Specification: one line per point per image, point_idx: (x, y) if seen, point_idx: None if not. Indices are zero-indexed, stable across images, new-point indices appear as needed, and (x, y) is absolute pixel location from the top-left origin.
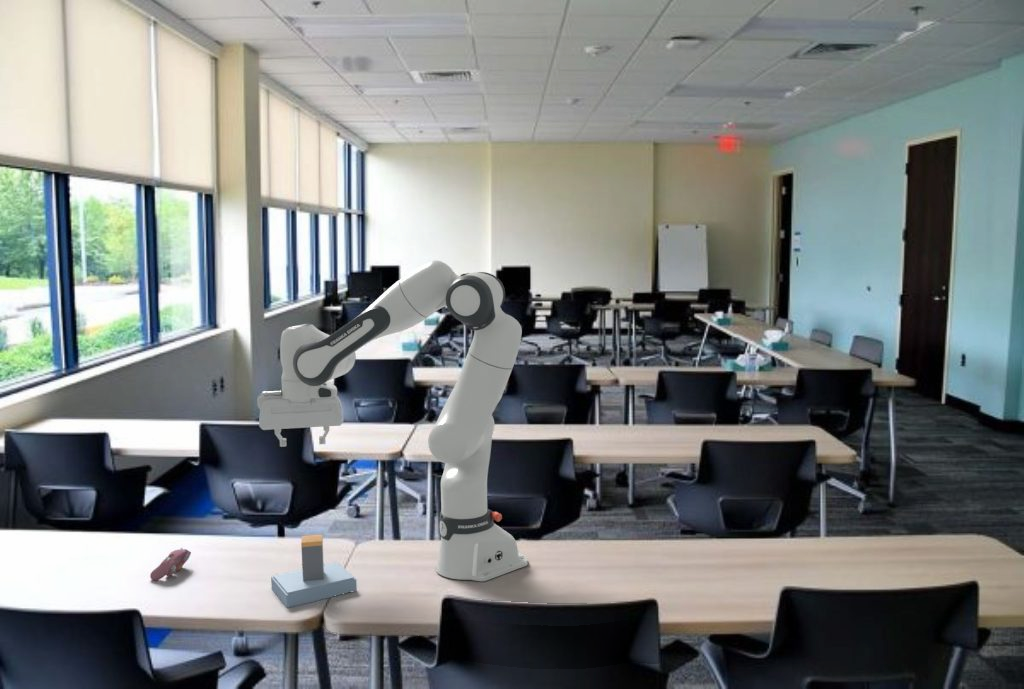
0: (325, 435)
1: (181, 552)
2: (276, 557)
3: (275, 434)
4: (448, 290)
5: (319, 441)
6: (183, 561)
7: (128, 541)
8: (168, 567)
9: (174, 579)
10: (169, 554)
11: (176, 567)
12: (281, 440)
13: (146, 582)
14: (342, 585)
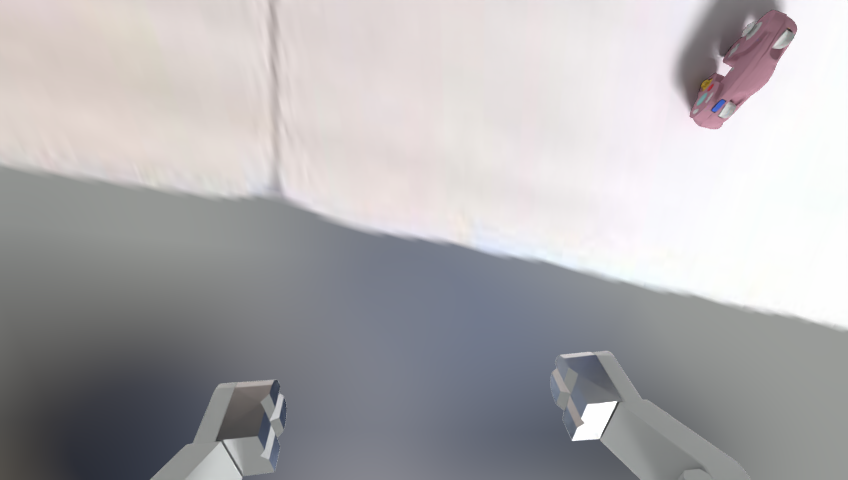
0: (176, 465)
1: (743, 75)
2: (473, 130)
3: (722, 453)
4: None
5: (271, 406)
6: (709, 88)
7: (743, 270)
8: (776, 12)
9: (726, 24)
10: (775, 66)
11: (720, 75)
12: (624, 394)
13: None
14: None
